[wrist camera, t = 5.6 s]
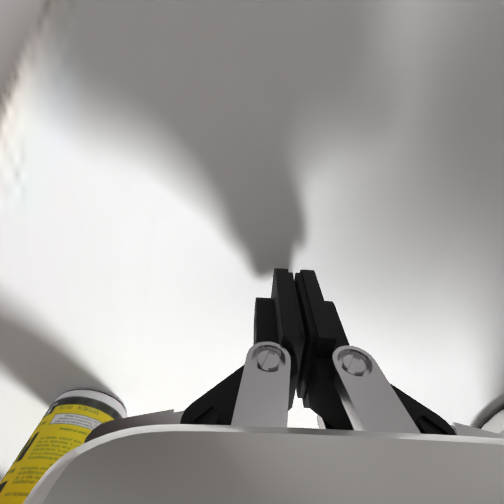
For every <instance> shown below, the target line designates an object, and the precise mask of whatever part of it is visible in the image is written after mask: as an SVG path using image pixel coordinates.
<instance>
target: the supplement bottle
mask: <svg viewBox="0 0 504 504" xmlns="http://www.w3.org/2000/svg"><path fill="white" fill-rule="evenodd" d="M121 418H127V413H126V411H125V409H124V408H123V406H122V405H121V404H120V403H119V402H118V401H117V400H115V399H114V398H112V397H110V396H108V395H106V394H103V393H100V392H97V391H91V390H73V391H69V392H66V393H64V394H62V395H60V396H59V397H58V398H56V400H55V401H54V402H53V403H52V405H51V406H50V408H49V409H48V411H47V412H46V414H45V415H44V417H43V418H42V420H41V422H40V423H39V425H38V426H37V428H36V429H35V431H34V432H33V434H32V435H31V437H30V438H29V440H28V441H27V443H26V444H25V446H24V447H23V449H22V450H21V452H20V453H19V455H18V457H17V458H16V460H15V461H14V463H13V464H12V466H11V468H10V469H9V470H8V472H7V474H6V475H5V476H4V478H3V480H2V481H1V483H0V504H23V502H24V501H25V499H26V498H27V496H28V495H29V494H30V492H31V491H32V489H33V488H34V487H35V485H36V484H37V483H38V481H39V480H40V479H41V478H42V476H43V475H44V474H45V473H46V471H47V470H48V469H49V468H50V467H51V466H52V465H53V464H54V463H55V462H56V461H57V460H58V459H60V458H61V457H62V456H64V455H65V454H66V453H68V452H69V451H71V450H73V449H74V448H76V447H78V446H80V445H82V444H84V441H85V439H86V437H87V436H88V435H89V434H90V432H91V431H92V430H93V429H94V428H96V427H97V426H99V425H100V424H102V423H105V422H107V421H110V420H116V419H121Z"/></svg>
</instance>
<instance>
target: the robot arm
mask: <svg viewBox="0 0 504 504" xmlns="http://www.w3.org/2000/svg"><path fill="white" fill-rule="evenodd" d="M295 390H297V396H298V398H302V399H303V405H304V408H311V409H312V410H313V411H314V412H315V413H316V414H317V422H318V426H319V428H320V429H311V428H287V419H288V411H289V410H290V409H291V408H292V404H293V399H294V395H295ZM23 504H504V409H503V410H501V411H500V412H498V413H497V414H495V415H494V416H493V417H492V418H491V419H490V420H489V421H488V422H486V423H485V424H484V425H483V427H482V428H481V429H479V428H475V427H471V426H467V425H463V424H459V423H455V422H453V424H452V425H449V424H448V423H447V422H446V421H445V420H444V419H443V418H441V417H440V416H439V415H437V414H436V413H434V412H433V411H431V410H430V409H428V408H427V407H425V406H423V405H422V404H420V403H419V402H417V401H416V400H414V399H413V398H411V397H410V396H408V395H407V394H405V393H404V392H402V391H401V390H399V389H398V388H396V387H395V386H393V385H391V384H390V383H389V382H388V380H387V379H386V377H385V375H384V374H383V372H382V371H381V369H380V367H379V366H378V364H377V363H376V361H375V360H374V359H373V357H372V356H371V355H370V354H369V353H367V352H366V351H364V350H362V349H360V348H358V347H354V346H350V345H349V343H348V340H347V337H346V335H345V332H344V329H343V327H342V324H341V321H340V319H339V316H338V313H337V311H336V308H335V305H334V303H333V302H332V301H324V299H323V296H322V293H321V290H320V287H319V284H318V281H317V277H316V274H315V272H314V270H300V273H296V274H295V279H294V278H293V273H290V272H288V269H278V268H275V269H274V275H273V285H272V294H271V298H256V302H255V315H254V345H253V346H252V347H251V348H250V349H249V351H248V353H247V357H246V361H245V365H243V366H242V367H241V368H239V369H238V370H237V371H235V372H234V373H233V374H231V375H230V376H228V377H227V378H226V379H224V380H223V381H222V382H220V383H219V384H218V385H216V386H215V387H214V388H212V389H211V390H209V391H208V392H207V393H205V394H204V395H203V396H201V397H200V398H199V399H197V400H196V401H195V402H193V403H192V404H191V405H190V406H189V407H188V408H187V409H186V410H185V411H181V412H175V413H174V409H172V410H167V411H161V412H155V413H150V414H144V415H138V416H133V417H127V418H121V419H116V420H110V421H107V422H105V423H102V424H100V425H99V426H97V427H96V428H94V429H93V430H92V431H91V432H90V434H89V435H88V436H87V437H86V439H85V441H84V444H82V445H80V446H78V447H76V448H74V449H73V450H71V451H69V452H68V453H66V454H65V455H64V456H62V457H61V458H60V459H58V460H57V461H56V462H55V463H54V464H53V465H52V466H51V467H50V468H49V469H48V470H47V471H46V473H45V474H44V475H43V476H42V478H41V479H40V480H39V481H38V483H37V484H36V485H35V487H34V488H33V489H32V491H31V492H30V494H29V495H28V496H27V498H26V499H25V501H24V502H23Z"/></svg>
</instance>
